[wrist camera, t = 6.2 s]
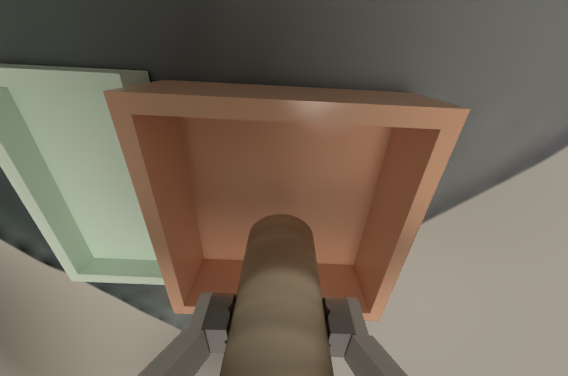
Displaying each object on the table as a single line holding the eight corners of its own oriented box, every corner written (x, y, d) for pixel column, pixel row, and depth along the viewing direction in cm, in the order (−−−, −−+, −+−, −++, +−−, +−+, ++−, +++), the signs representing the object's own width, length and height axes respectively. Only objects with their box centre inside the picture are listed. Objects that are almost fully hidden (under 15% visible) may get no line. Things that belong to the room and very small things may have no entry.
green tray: (-4, 63, 15) (-63, 64, 13) (147, 70, 15) (119, 73, 13) (94, 257, 24) (71, 281, 22) (189, 260, 24) (177, 285, 22)
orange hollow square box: (164, 79, 16) (102, 90, 10) (410, 92, 16) (470, 109, 11) (198, 258, 24) (174, 313, 19) (359, 264, 24) (379, 321, 19)
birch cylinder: (247, 212, 13) (204, 388, 6) (316, 215, 13) (350, 392, 6) (249, 261, 15) (218, 435, 8) (309, 263, 15) (329, 437, 8)
